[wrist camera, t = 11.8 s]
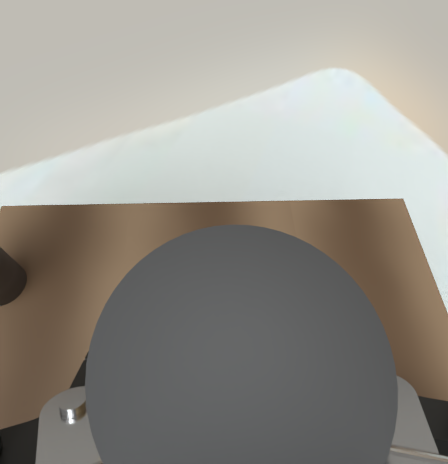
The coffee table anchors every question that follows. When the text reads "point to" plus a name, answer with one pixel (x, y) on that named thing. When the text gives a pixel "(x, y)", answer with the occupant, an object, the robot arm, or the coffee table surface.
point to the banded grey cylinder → (240, 357)
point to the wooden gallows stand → (174, 225)
